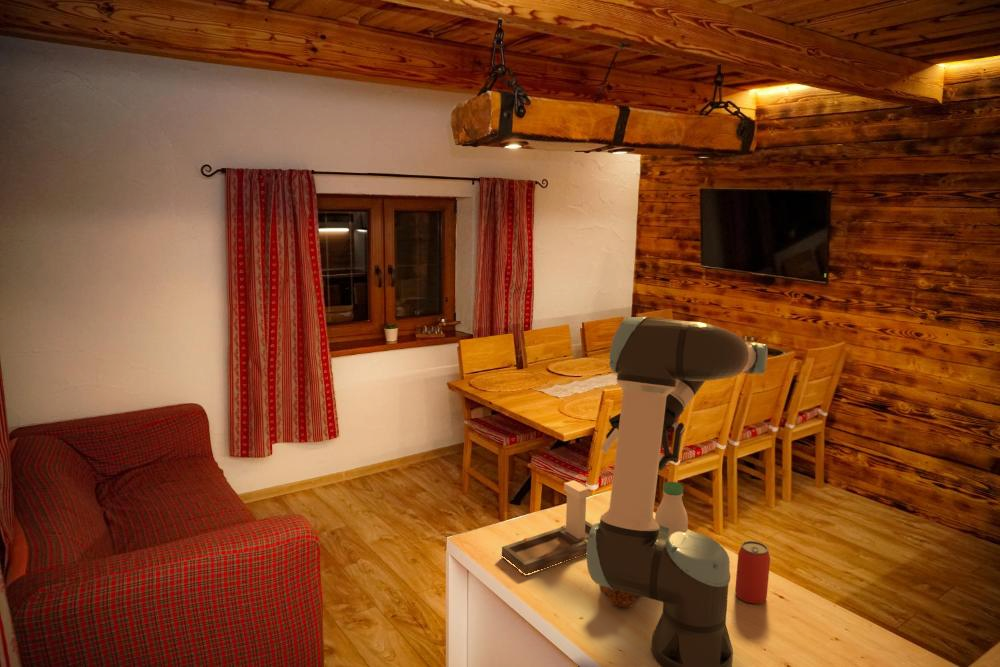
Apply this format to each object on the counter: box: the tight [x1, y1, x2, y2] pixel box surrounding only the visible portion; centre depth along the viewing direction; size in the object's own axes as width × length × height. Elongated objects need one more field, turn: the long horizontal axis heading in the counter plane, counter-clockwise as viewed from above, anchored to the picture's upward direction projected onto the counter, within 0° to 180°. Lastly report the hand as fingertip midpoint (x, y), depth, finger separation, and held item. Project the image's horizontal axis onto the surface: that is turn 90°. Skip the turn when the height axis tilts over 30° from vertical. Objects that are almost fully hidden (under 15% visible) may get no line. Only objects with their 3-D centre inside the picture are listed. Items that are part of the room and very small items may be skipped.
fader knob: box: [559, 480, 590, 545], centre depth 172 cm, size 5×7×14 cm
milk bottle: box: [654, 481, 689, 539], centre depth 164 cm, size 8×8×20 cm
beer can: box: [734, 540, 771, 605], centre depth 151 cm, size 7×7×12 cm
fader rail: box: [501, 520, 594, 574], centre depth 170 cm, size 26×10×3 cm, turn 124°
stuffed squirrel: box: [600, 585, 640, 608], centre depth 150 cm, size 10×14×13 cm
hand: (624, 463), depth 170 cm, fingers open, 13 cm apart
